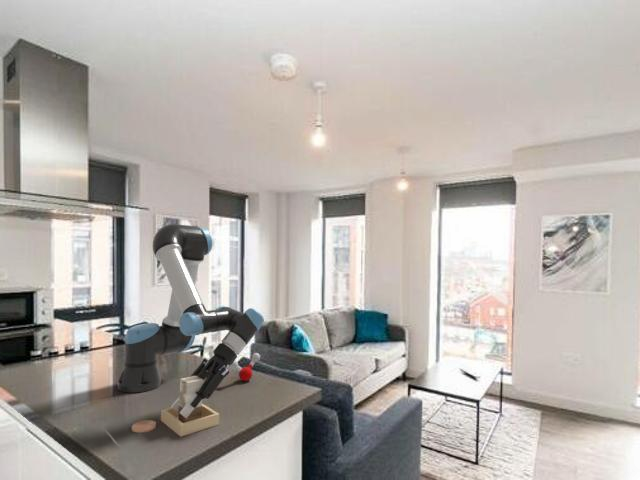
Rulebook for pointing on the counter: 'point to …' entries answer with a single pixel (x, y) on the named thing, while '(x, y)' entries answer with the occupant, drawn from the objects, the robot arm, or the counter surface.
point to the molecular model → (245, 368)
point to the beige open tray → (182, 429)
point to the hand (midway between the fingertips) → (178, 412)
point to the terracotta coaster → (143, 426)
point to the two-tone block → (189, 397)
